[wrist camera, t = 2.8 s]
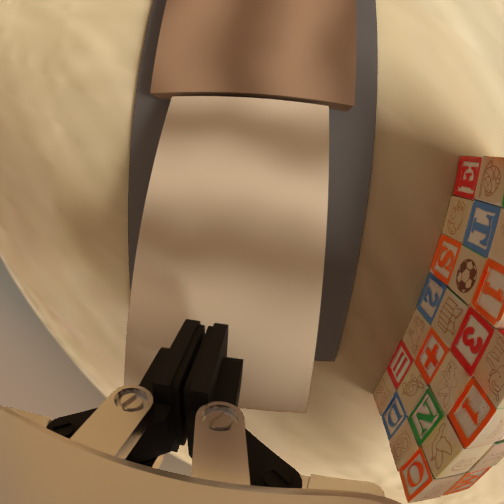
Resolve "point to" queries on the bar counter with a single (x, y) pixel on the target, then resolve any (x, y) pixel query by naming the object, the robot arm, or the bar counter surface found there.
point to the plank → (236, 240)
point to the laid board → (258, 50)
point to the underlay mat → (340, 169)
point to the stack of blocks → (453, 348)
